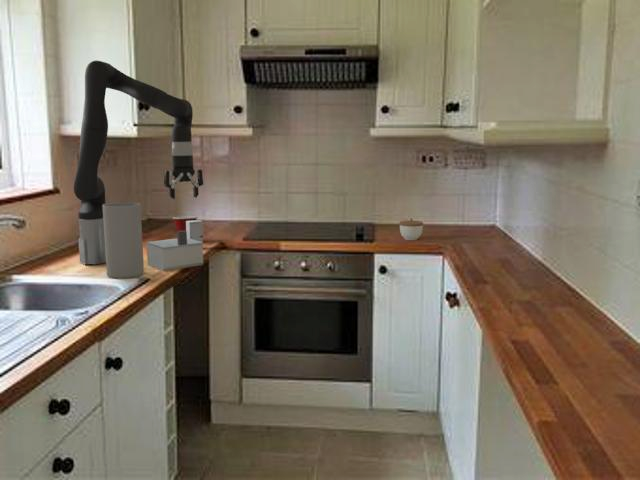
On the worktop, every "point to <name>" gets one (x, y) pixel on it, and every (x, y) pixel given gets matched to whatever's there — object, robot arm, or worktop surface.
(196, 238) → the skincare box
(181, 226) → the plastic cup
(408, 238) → the lidded jar
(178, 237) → the grey plate
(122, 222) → the cylinder vase
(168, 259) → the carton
